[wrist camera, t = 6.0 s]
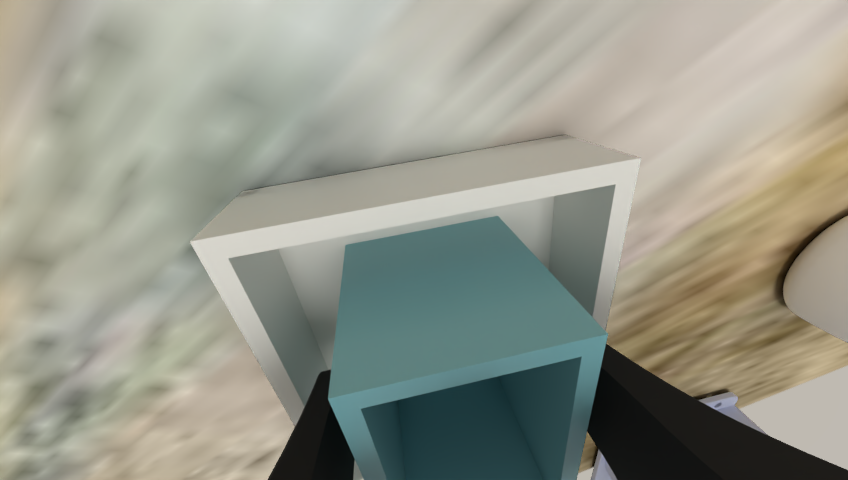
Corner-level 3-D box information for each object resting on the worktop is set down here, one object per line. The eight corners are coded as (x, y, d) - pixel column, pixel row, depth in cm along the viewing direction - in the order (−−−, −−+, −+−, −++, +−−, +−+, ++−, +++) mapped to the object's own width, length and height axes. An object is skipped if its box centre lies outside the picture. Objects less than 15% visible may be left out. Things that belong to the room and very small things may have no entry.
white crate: (565, 134, 11) (641, 158, 8) (545, 365, 17) (585, 429, 14) (242, 191, 10) (189, 241, 7) (339, 414, 16) (333, 494, 13)
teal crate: (497, 215, 12) (608, 333, 6) (500, 362, 15) (569, 511, 10) (345, 244, 11) (328, 398, 6) (387, 389, 15) (399, 559, 10)
